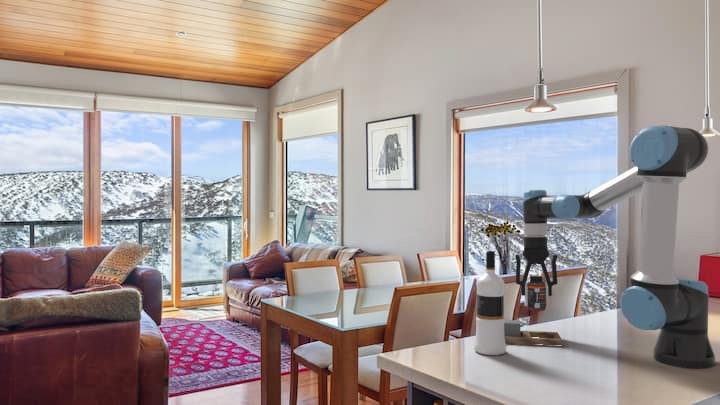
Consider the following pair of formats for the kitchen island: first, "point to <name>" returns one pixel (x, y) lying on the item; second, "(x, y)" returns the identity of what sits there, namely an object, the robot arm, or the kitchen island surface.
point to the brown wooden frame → (526, 338)
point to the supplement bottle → (536, 294)
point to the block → (512, 328)
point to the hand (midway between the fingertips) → (536, 305)
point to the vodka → (490, 311)
